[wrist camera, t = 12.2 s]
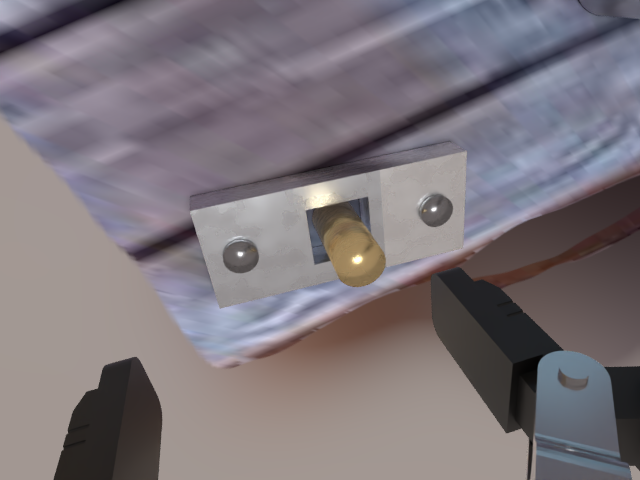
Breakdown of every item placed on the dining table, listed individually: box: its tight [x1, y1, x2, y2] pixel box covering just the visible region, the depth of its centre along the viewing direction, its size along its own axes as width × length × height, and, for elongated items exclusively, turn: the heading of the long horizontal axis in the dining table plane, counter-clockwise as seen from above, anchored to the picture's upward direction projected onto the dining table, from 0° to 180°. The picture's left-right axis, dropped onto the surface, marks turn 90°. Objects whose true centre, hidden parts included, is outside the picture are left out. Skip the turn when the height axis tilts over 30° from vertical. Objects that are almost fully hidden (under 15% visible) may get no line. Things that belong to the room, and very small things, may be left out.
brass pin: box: [312, 201, 386, 287], centre depth 39 cm, size 4×4×9 cm
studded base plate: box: [190, 141, 467, 308], centre depth 41 cm, size 24×10×4 cm, turn 97°
